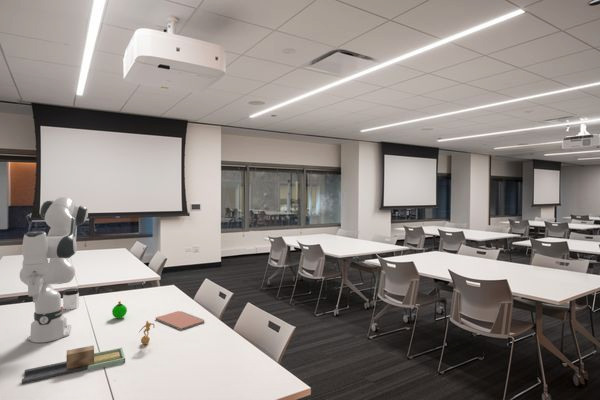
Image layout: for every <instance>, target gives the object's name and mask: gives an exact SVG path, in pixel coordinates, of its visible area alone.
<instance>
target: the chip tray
mask: <svg viewBox="0 0 600 400" xmlns="http://www.w3.org/2000/svg"><path fill="white" fill-rule="evenodd" d="M115 352H119V354H120V359H117V360H112V361H107V362H103V363H98V364H93V365H89V366H88V367H87V371H93V370H98V369H102V368H103V369H104V368H108V367H112V366H116V365H120V364H124V363H126V356H125V354H124V351H123V347H119V348H113V349H109V350H103V351H98V352H94V357H96V356H100V355H105V354H110V353H115Z"/></svg>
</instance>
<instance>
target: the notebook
mask: <svg viewBox="0 0 600 400" xmlns="http://www.w3.org/2000/svg"><path fill="white" fill-rule="evenodd" d="M155 320H156V321H158V322H160V323H163V324H165V325H166V326H167V325H168V326H170V327H172V328H174V329H177V330H178V331H183V330H186V329H189V328H192V327H195V326H198V325H201V324H204V323H205V321H206V320H204V318H201V317H198V316H195V315H193V314H190V313H187V312H185V311H183V310H182V311H180V310H177V311H174V312H170V313H166V314H164V315H159V316H156V317H155Z"/></svg>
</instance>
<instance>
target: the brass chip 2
mask: <svg viewBox="0 0 600 400" xmlns="http://www.w3.org/2000/svg"><path fill="white" fill-rule="evenodd" d="M117 359H121V353H119V352H115V353H110V354H107V361H112V360H117Z"/></svg>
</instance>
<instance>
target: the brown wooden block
mask: <svg viewBox="0 0 600 400" xmlns="http://www.w3.org/2000/svg"><path fill="white" fill-rule="evenodd" d="M94 353H95V346H94V345H89V346H83V347H78V348H73V349H67V350H66V356H65V357H66V361H67V369H70V368H75V367H80V366H84V365H87V368H88V366H89V365H93V364H94Z"/></svg>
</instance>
